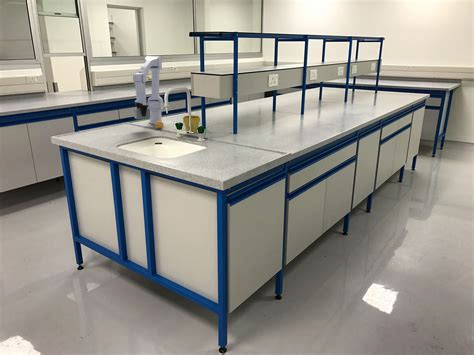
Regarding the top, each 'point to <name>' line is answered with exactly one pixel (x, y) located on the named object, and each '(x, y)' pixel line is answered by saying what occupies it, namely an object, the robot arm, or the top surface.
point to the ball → (159, 124)
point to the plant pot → (194, 122)
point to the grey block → (139, 116)
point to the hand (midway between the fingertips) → (142, 115)
